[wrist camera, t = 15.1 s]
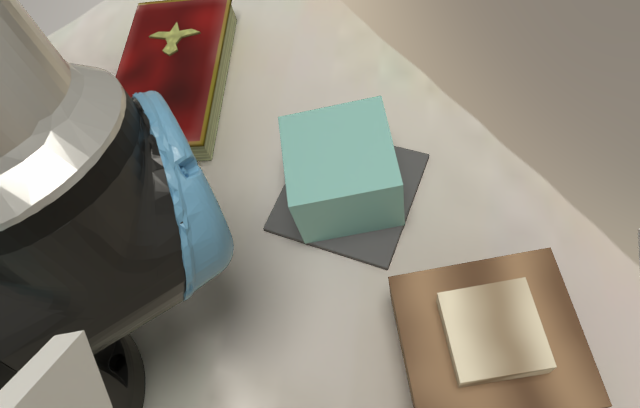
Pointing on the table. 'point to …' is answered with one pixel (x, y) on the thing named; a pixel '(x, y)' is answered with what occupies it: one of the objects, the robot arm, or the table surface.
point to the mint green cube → (341, 170)
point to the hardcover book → (182, 62)
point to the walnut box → (494, 336)
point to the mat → (361, 246)
